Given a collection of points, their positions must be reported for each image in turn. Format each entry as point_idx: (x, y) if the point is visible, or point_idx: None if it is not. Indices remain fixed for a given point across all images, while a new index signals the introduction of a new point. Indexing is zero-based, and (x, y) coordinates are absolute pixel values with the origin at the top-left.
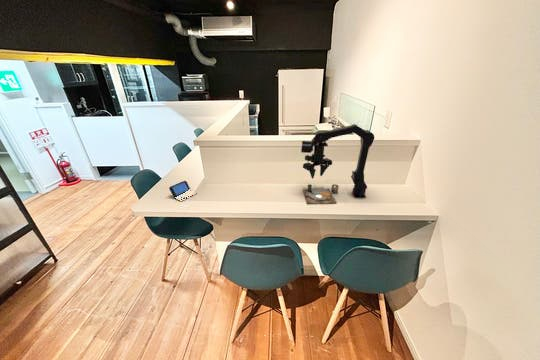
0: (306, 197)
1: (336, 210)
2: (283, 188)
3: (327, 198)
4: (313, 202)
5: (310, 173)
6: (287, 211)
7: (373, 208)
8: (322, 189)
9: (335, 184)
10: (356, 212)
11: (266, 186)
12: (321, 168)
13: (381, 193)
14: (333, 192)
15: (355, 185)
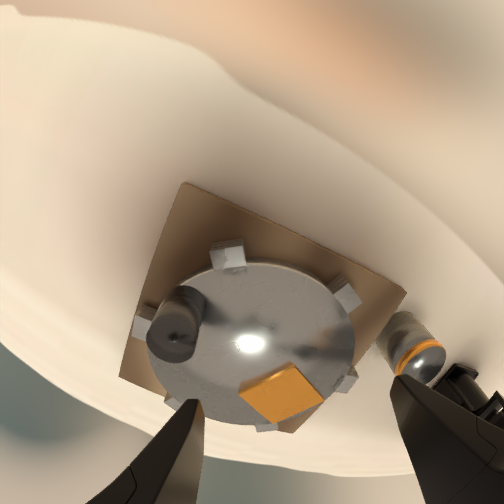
0: None
1: (246, 452)
2: (60, 81)
3: (256, 426)
4: (158, 391)
5: (134, 469)
6: (23, 354)
7: (384, 460)
8: (324, 332)
9: (443, 352)
10: (310, 470)
11: (6, 37)
12: (464, 476)
13: (499, 386)
14: (381, 352)
15: (473, 413)
